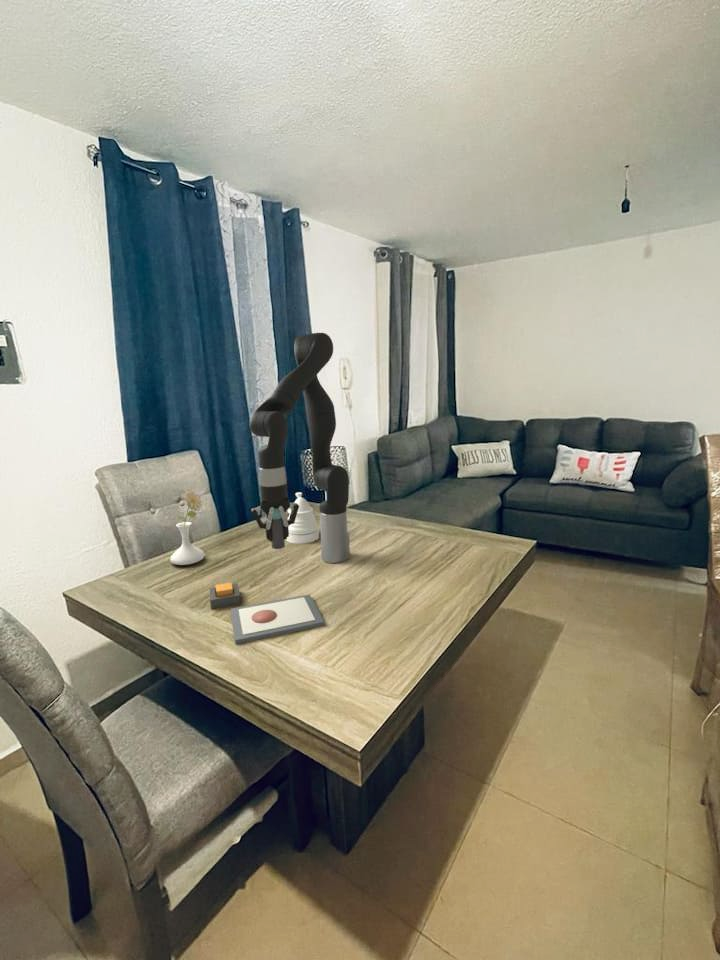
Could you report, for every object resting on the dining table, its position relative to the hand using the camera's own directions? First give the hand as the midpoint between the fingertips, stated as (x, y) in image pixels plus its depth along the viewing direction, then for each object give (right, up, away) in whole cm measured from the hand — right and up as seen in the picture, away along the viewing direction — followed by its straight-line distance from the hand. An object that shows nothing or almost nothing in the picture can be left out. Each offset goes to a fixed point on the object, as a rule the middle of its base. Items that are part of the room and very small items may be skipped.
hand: (277, 539), depth 129 cm
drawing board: (+2, -19, -13) cm, 23 cm away
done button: (-15, -15, -2) cm, 21 cm away
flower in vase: (-36, -11, +27) cm, 47 cm away
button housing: (-15, -17, -2) cm, 23 cm away
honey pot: (+1, -6, +47) cm, 48 cm away
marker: (0, -2, +1) cm, 2 cm away
